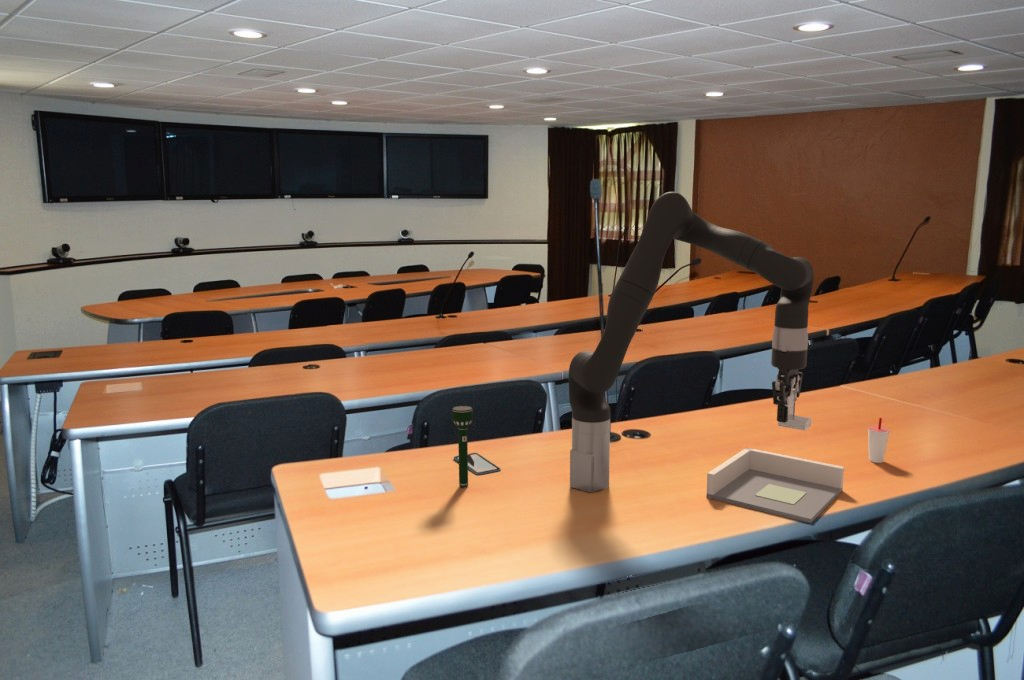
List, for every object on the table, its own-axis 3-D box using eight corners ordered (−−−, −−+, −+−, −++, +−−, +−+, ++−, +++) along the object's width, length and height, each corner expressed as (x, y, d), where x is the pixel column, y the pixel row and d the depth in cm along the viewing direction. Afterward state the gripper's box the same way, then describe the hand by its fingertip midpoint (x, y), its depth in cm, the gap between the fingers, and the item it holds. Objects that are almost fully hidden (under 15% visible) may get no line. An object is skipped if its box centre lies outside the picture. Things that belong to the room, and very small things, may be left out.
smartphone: (477, 474, 192) (452, 456, 205) (477, 478, 193) (452, 460, 205) (502, 469, 196) (476, 452, 209) (502, 472, 196) (476, 455, 209)
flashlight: (457, 491, 182) (455, 411, 178) (450, 484, 186) (448, 406, 183) (477, 488, 184) (475, 409, 180) (469, 481, 188) (468, 404, 185)
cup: (889, 464, 199) (893, 421, 197) (867, 463, 200) (871, 419, 198) (884, 458, 204) (887, 415, 202) (862, 457, 205) (866, 414, 203)
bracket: (778, 425, 172) (780, 391, 171) (784, 421, 175) (786, 388, 174) (804, 430, 168) (806, 395, 167) (810, 426, 172) (812, 392, 170)
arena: (810, 523, 163) (812, 497, 162) (706, 497, 177) (707, 473, 176) (842, 490, 181) (844, 466, 180) (745, 469, 196) (746, 447, 195)
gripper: (784, 340, 178) (780, 410, 181) (761, 349, 167) (757, 423, 170) (816, 343, 173) (812, 415, 176) (795, 353, 162) (791, 429, 165)
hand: (785, 419), depth 173 cm, fingers closed on bracket, 4 cm apart
